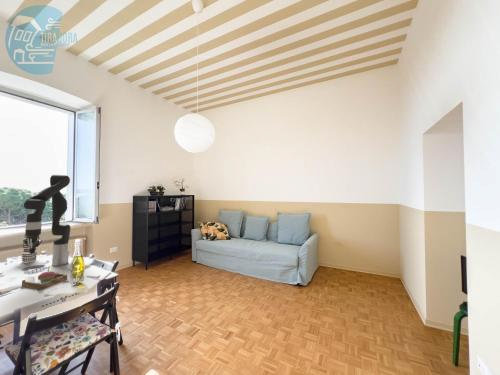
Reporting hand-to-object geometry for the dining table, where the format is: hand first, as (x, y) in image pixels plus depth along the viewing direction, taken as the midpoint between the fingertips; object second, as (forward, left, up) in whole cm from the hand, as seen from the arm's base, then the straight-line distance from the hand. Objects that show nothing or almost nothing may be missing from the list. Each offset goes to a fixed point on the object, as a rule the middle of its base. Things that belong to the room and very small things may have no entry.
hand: (32, 253), depth 141 cm
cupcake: (0, +14, -19) cm, 23 cm away
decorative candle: (-27, -43, -19) cm, 54 cm away
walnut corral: (0, +13, -19) cm, 23 cm away
